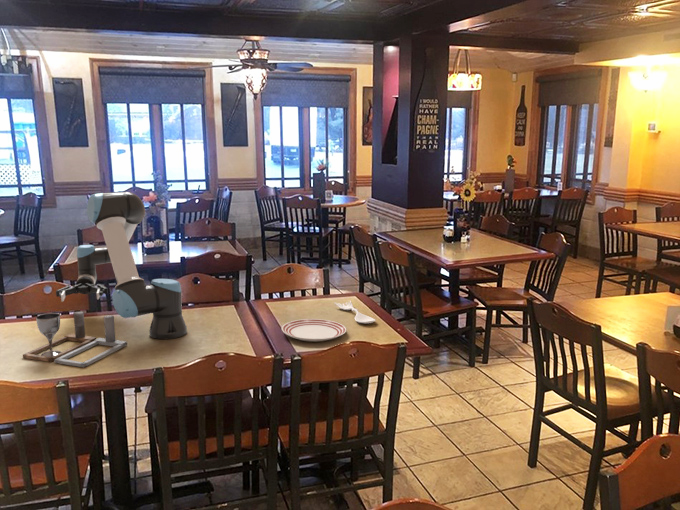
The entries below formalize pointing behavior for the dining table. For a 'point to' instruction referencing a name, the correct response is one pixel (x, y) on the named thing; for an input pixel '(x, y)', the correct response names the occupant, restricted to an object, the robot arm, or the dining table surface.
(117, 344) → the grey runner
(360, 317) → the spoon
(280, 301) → the dining table surface
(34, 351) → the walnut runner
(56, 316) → the wine glass
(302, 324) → the dinner plate
